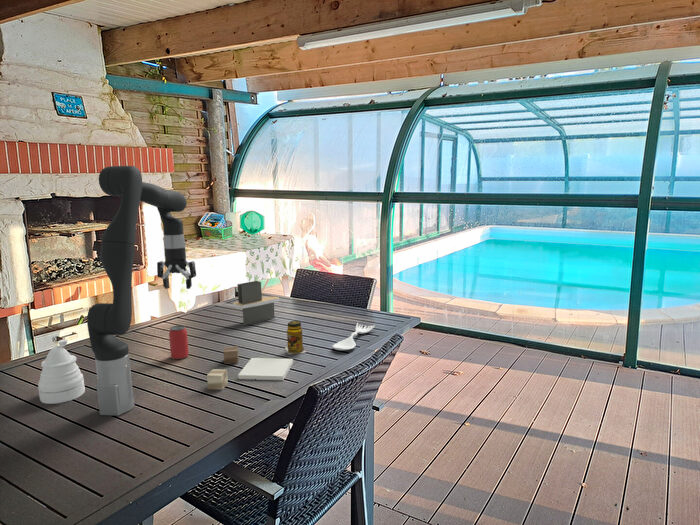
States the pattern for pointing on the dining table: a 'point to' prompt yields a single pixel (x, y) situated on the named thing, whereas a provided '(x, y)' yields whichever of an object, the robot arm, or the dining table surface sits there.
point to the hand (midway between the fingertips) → (177, 288)
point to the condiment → (294, 338)
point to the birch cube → (217, 379)
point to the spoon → (351, 338)
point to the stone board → (266, 369)
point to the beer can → (178, 342)
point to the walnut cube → (231, 355)
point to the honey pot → (60, 377)
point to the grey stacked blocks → (254, 303)
